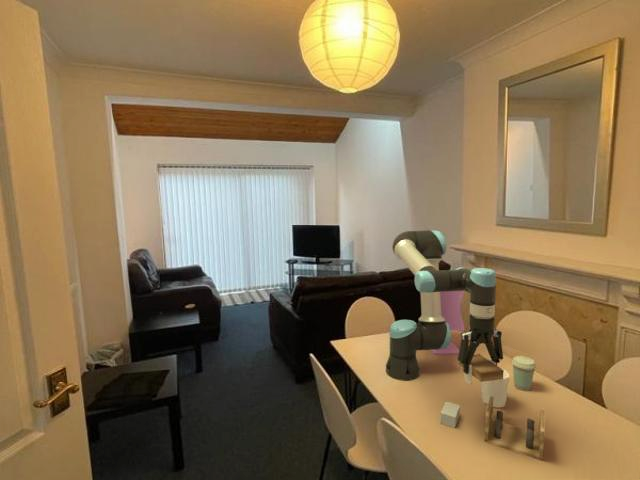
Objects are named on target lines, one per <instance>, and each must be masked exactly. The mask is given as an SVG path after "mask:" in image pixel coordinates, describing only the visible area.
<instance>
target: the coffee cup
mask: <svg viewBox="0 0 640 480" xmlns="http://www.w3.org/2000/svg"><path fill="white" fill-rule="evenodd" d="M511 364H512V372H513V382H514V383H513V384H514V387H515V389H517V390H519V391H522V392H529V391H530V390H531V389H532V384H533V378H534V375H535V369H536V367H537V364H536V362H535V360H534V359H532V358H530V357H527V356H524V355H516V356H514V357H513V359H512V360H511Z"/></svg>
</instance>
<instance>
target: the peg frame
mask: <svg viewBox="0 0 640 480" xmlns="http://www.w3.org/2000/svg"><path fill="white" fill-rule="evenodd" d="M486 407H487V409H486V412H485V419H484V420H485V421H484V424H485V425H484V443H487V444H490V445H493V446H497V447H499V448H503V449H506V450H508V451H512V452H515V453H517V454H521V455H524V456H526V457H529V458H533V459H536V460H539V461H542V462H543V459H544V457H543V456H544V445H545V444H544V443H545V410H543V409H540V412H539V413H540V414H539V426H538V427H539V428H538V429H539V430H538V432H535V420H533V419H532V418H528V419H527V421H526V422H527V423H526V428H521V427H518V426H515V425H512V424H509V423H505V422H504V412H503V411H502V410H496V415H495V416H496V419H493V413H494V412H493V411H494V407H493V397H491V396H490V399H489V403H488V405H487V406H486Z"/></svg>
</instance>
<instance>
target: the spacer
mask: <svg viewBox="0 0 640 480" xmlns="http://www.w3.org/2000/svg"><path fill="white" fill-rule="evenodd" d="M460 411H461V405H459V404H456V403H453V402H449V401H445V403H444V405H443V406H442V409H441V411H440V414H439V415H440V419H439V422H440V423H439V424H441V425H443V426H448V427H451V428H453V429H455V428H456V427H457V425H458V421H459V419H460V415H461V412H460Z"/></svg>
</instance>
